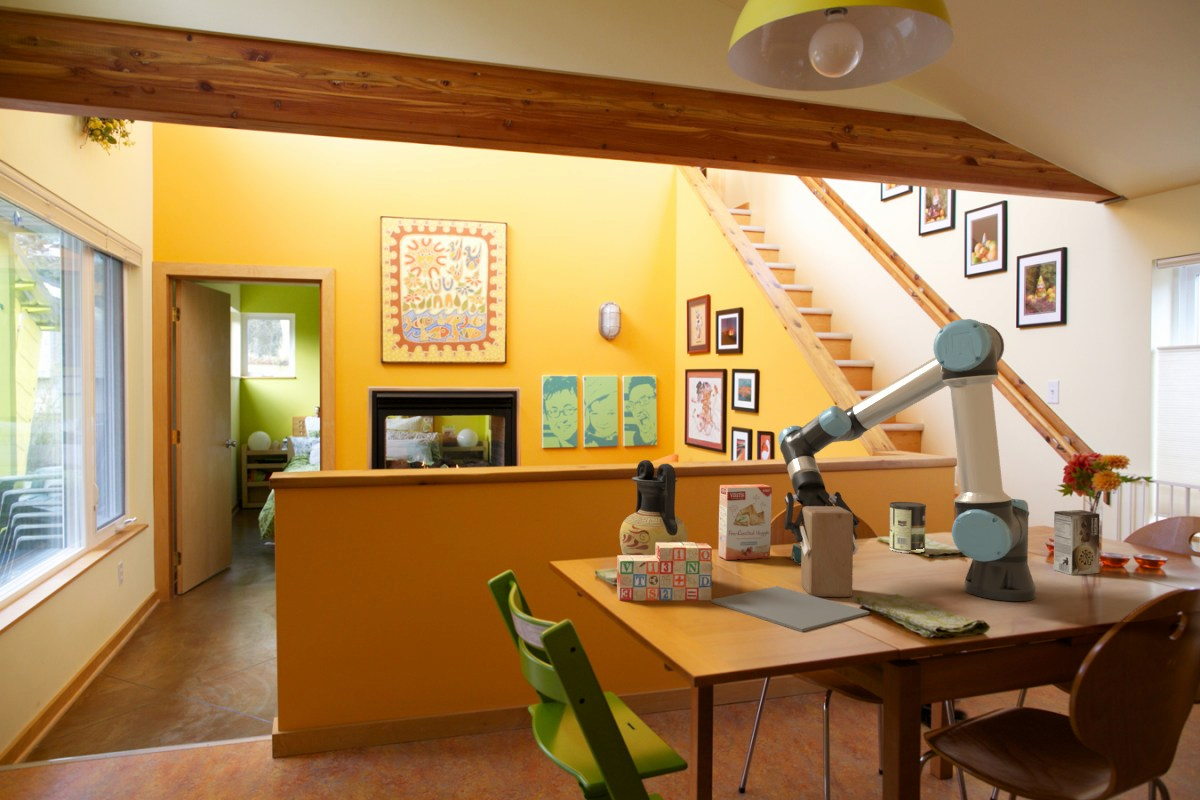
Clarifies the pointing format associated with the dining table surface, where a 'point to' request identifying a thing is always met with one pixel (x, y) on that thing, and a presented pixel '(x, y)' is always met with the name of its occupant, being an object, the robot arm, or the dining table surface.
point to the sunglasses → (796, 553)
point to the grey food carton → (1076, 542)
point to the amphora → (652, 512)
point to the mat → (790, 608)
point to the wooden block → (828, 551)
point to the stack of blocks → (666, 573)
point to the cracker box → (744, 521)
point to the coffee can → (907, 526)
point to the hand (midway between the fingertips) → (831, 552)
